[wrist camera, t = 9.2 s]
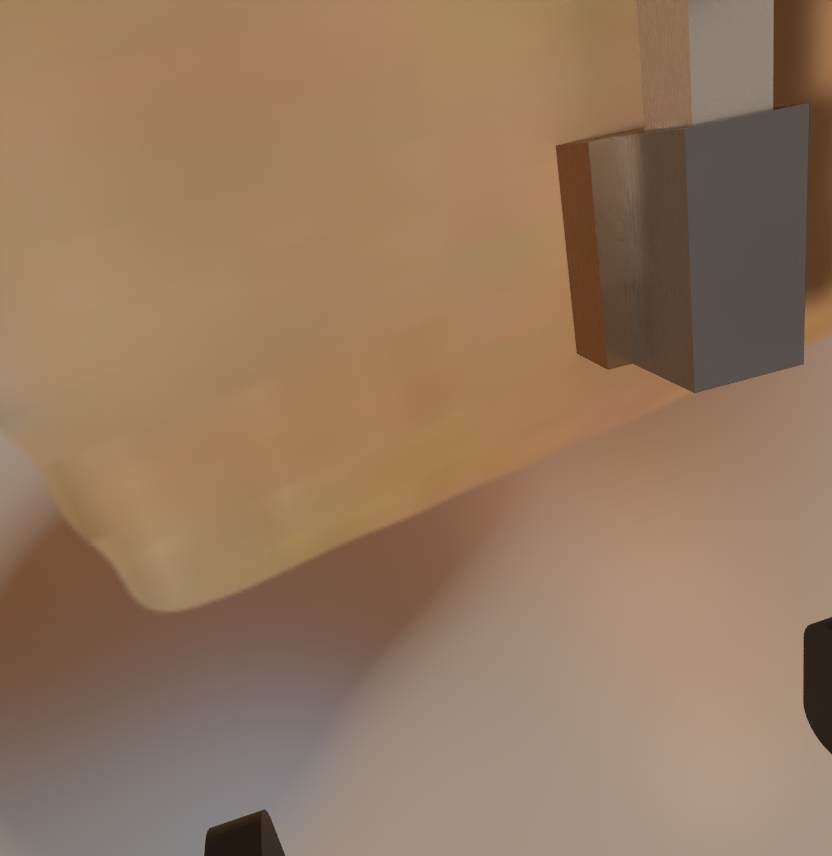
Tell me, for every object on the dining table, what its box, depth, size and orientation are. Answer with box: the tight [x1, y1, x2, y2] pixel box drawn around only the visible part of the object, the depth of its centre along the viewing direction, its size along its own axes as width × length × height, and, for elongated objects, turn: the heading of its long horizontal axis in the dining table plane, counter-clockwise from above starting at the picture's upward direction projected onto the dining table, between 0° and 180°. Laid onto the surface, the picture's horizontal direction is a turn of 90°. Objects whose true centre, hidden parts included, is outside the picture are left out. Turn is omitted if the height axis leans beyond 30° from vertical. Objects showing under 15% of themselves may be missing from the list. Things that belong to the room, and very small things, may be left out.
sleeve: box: [556, 103, 809, 393], centre depth 37 cm, size 12×9×10 cm
